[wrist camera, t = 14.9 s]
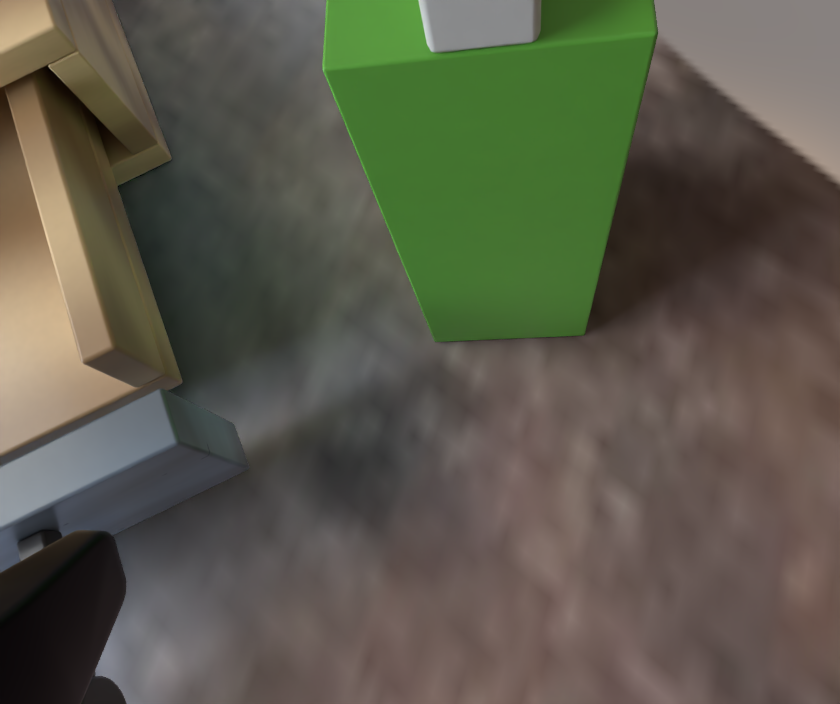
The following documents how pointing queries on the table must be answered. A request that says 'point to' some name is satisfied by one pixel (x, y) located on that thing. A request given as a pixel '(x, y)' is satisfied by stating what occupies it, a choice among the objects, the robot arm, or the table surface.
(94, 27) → the cabinet
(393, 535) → the table surface
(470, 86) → the green block white ridge
